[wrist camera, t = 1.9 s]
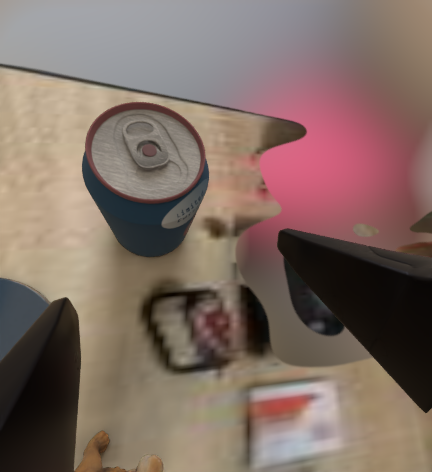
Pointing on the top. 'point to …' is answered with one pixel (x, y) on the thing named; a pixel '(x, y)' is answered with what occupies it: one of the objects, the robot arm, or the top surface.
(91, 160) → the soda can
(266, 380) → the top surface
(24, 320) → the coaster
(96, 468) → the lion figurine
